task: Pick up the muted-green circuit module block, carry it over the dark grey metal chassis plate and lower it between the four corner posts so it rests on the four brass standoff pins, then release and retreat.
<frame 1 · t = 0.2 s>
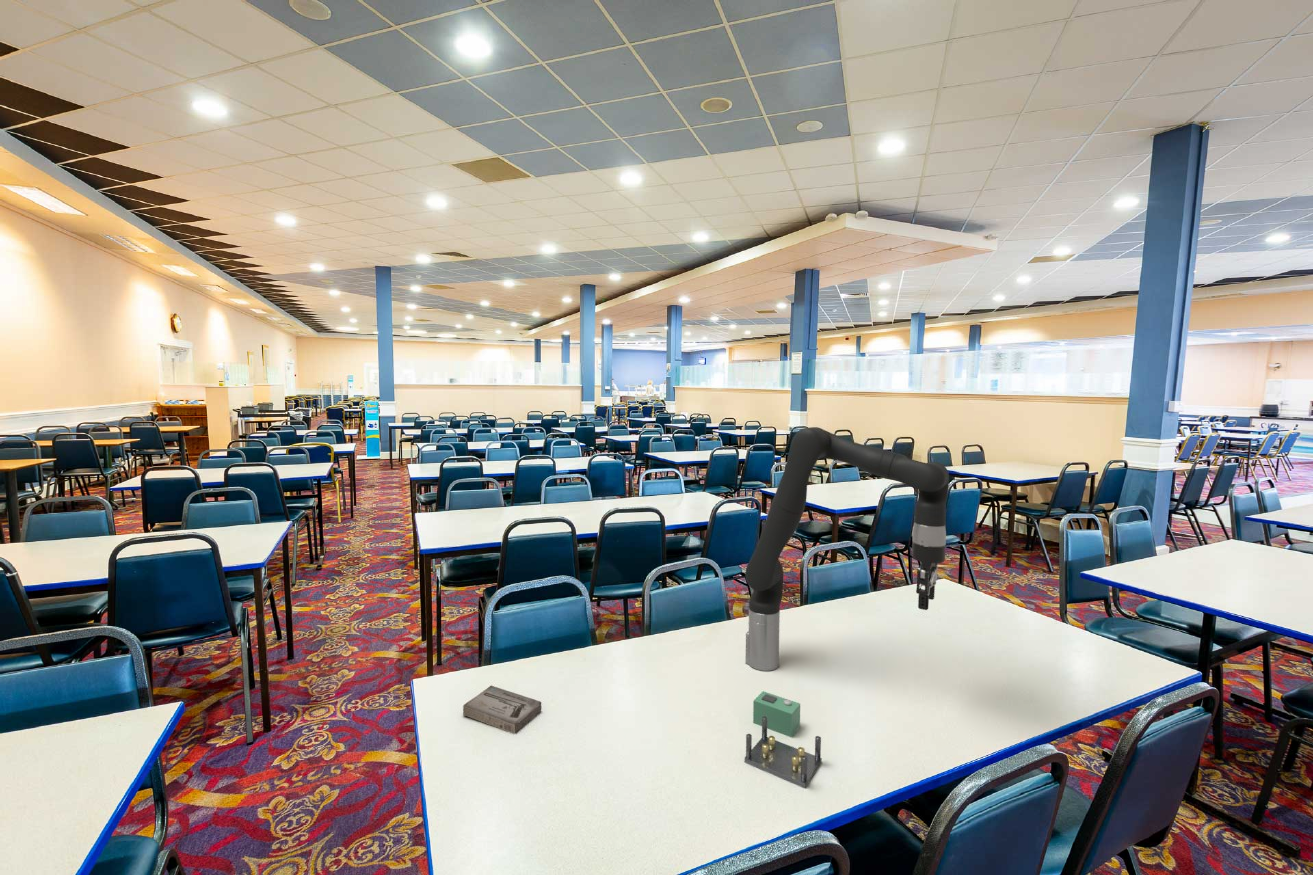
hand: (926, 603, 140), 29 cm above the table, fingers open, 8 cm apart
chassis: (783, 762, 123), on the table
box: (502, 716, 141), on the table
module block: (776, 725, 137), on the table
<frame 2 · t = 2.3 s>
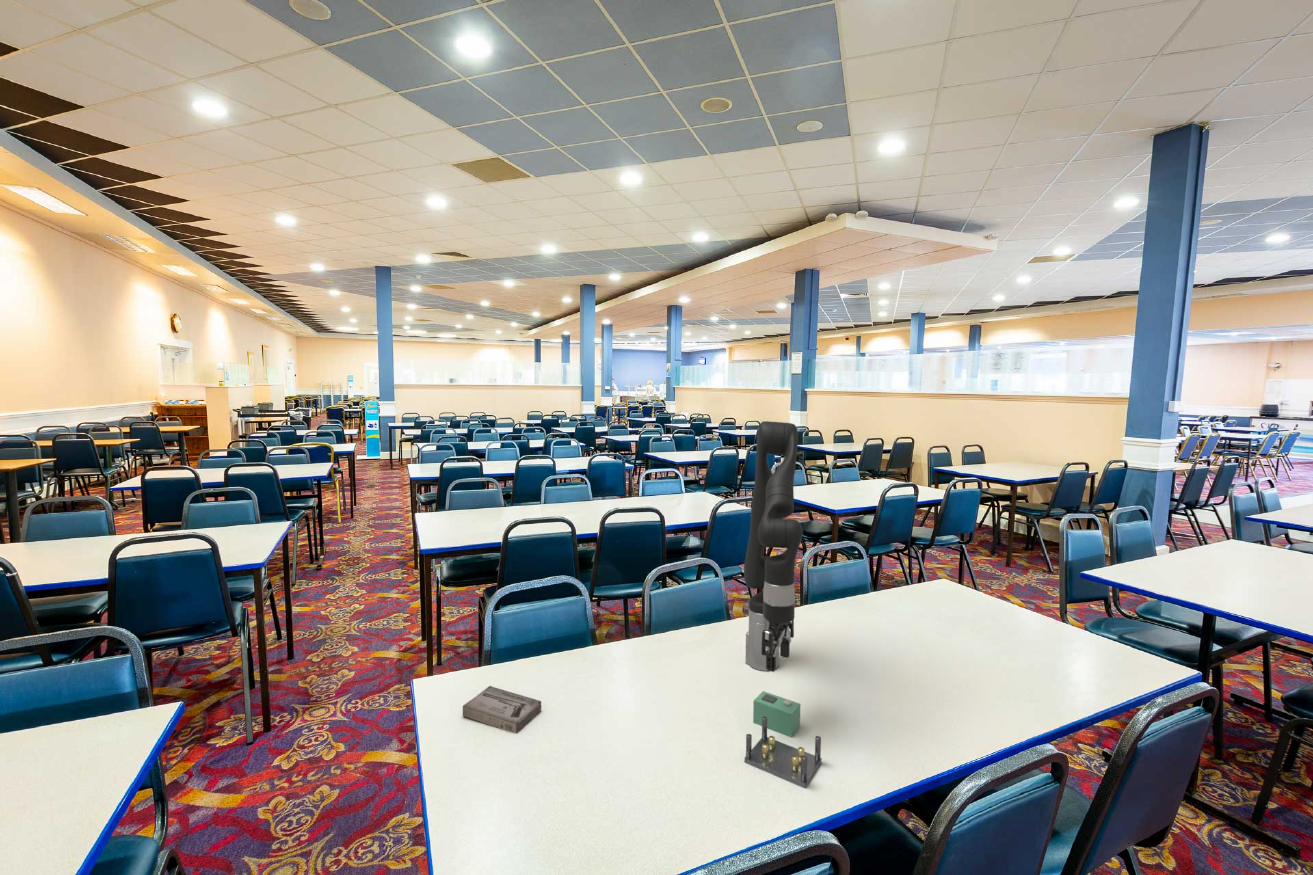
hand: (777, 663, 136), 16 cm above the table, fingers open, 8 cm apart
nothing on the table moved.
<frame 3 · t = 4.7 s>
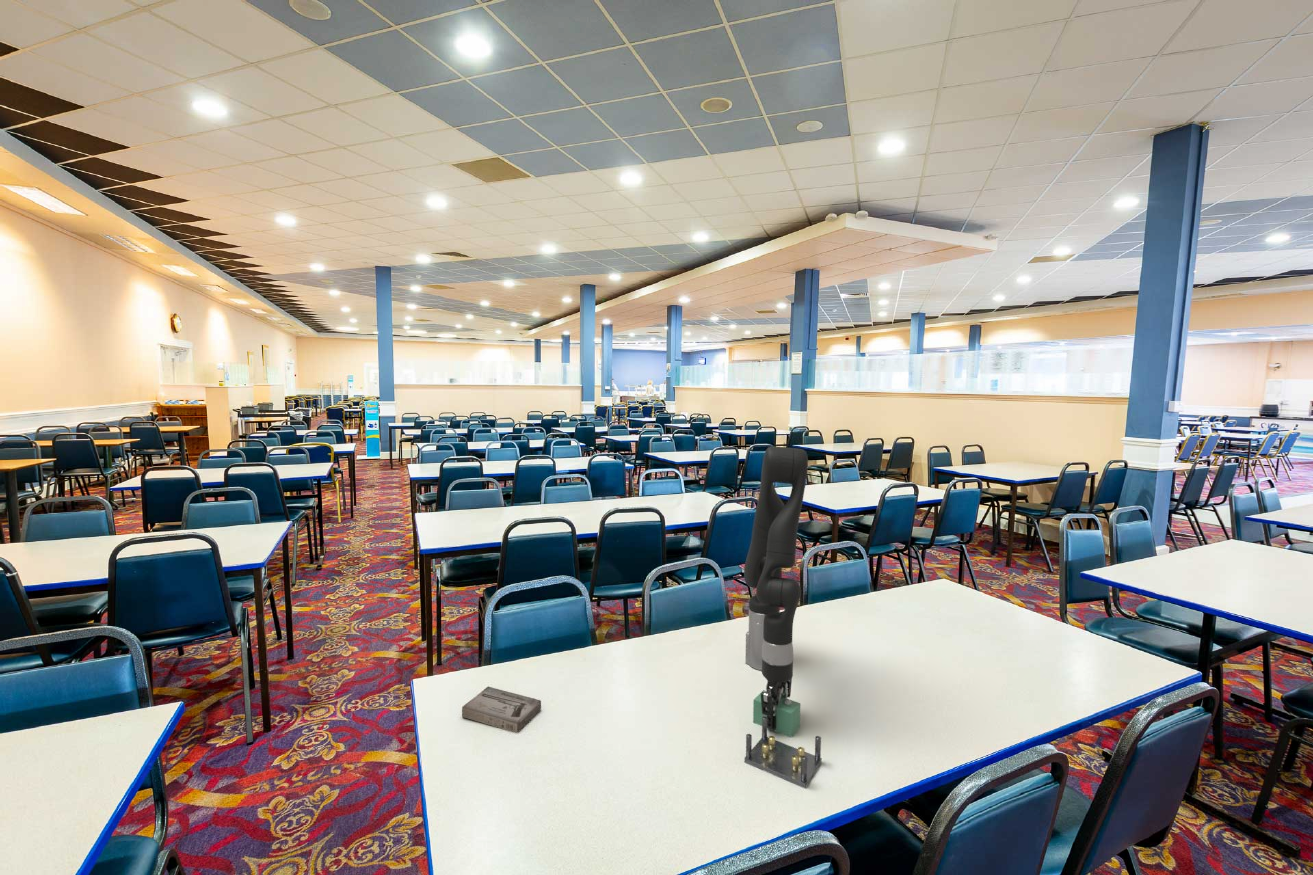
hand: (776, 722, 137), 1 cm above the table, fingers closed on module block, 5 cm apart
module block: (776, 724, 137), on the table, touching gripper
everything else where it was.
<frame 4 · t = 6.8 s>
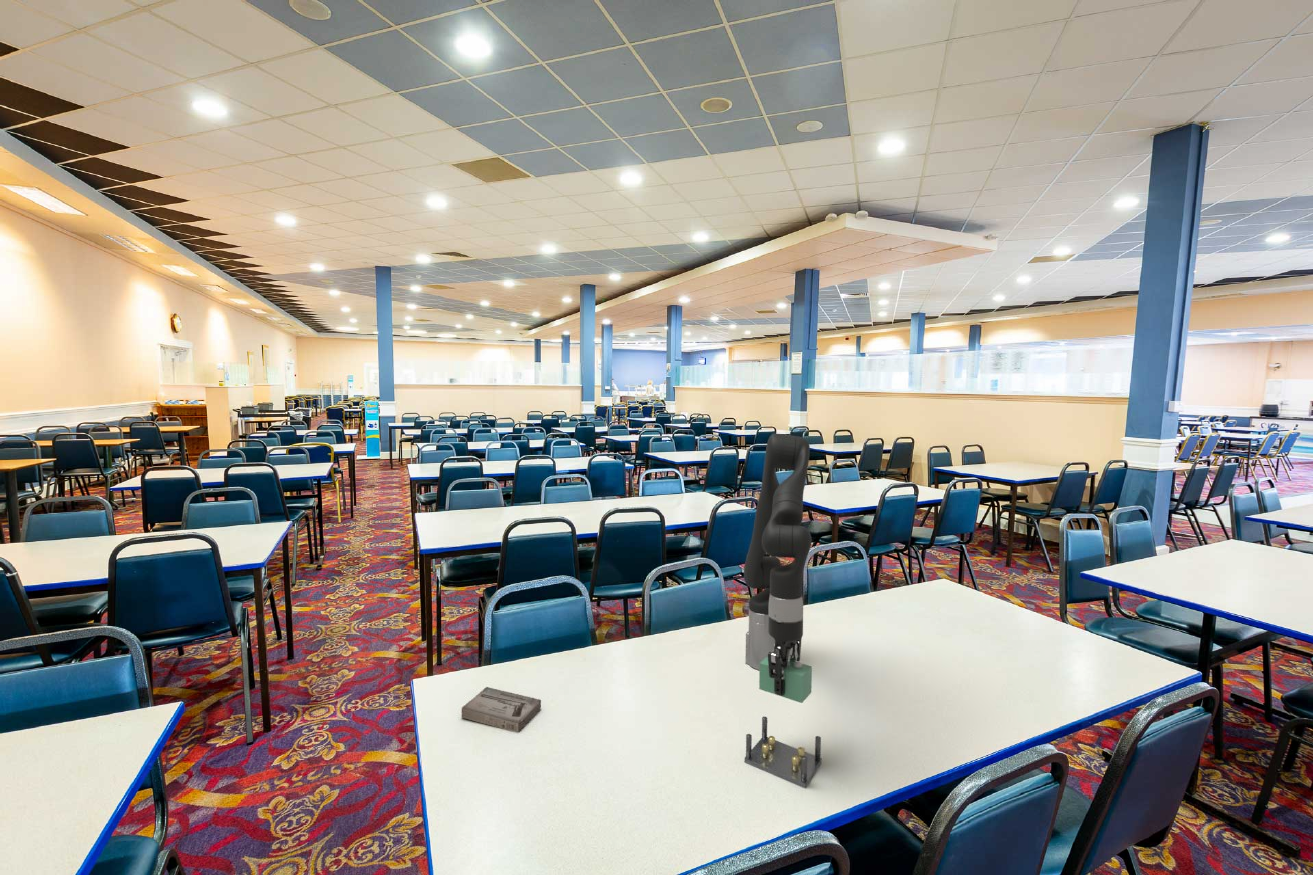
hand: (784, 688, 123), 16 cm above the table, fingers closed on module block, 5 cm apart
module block: (785, 690, 123), point 16 cm above the table, touching gripper
everything else where it was.
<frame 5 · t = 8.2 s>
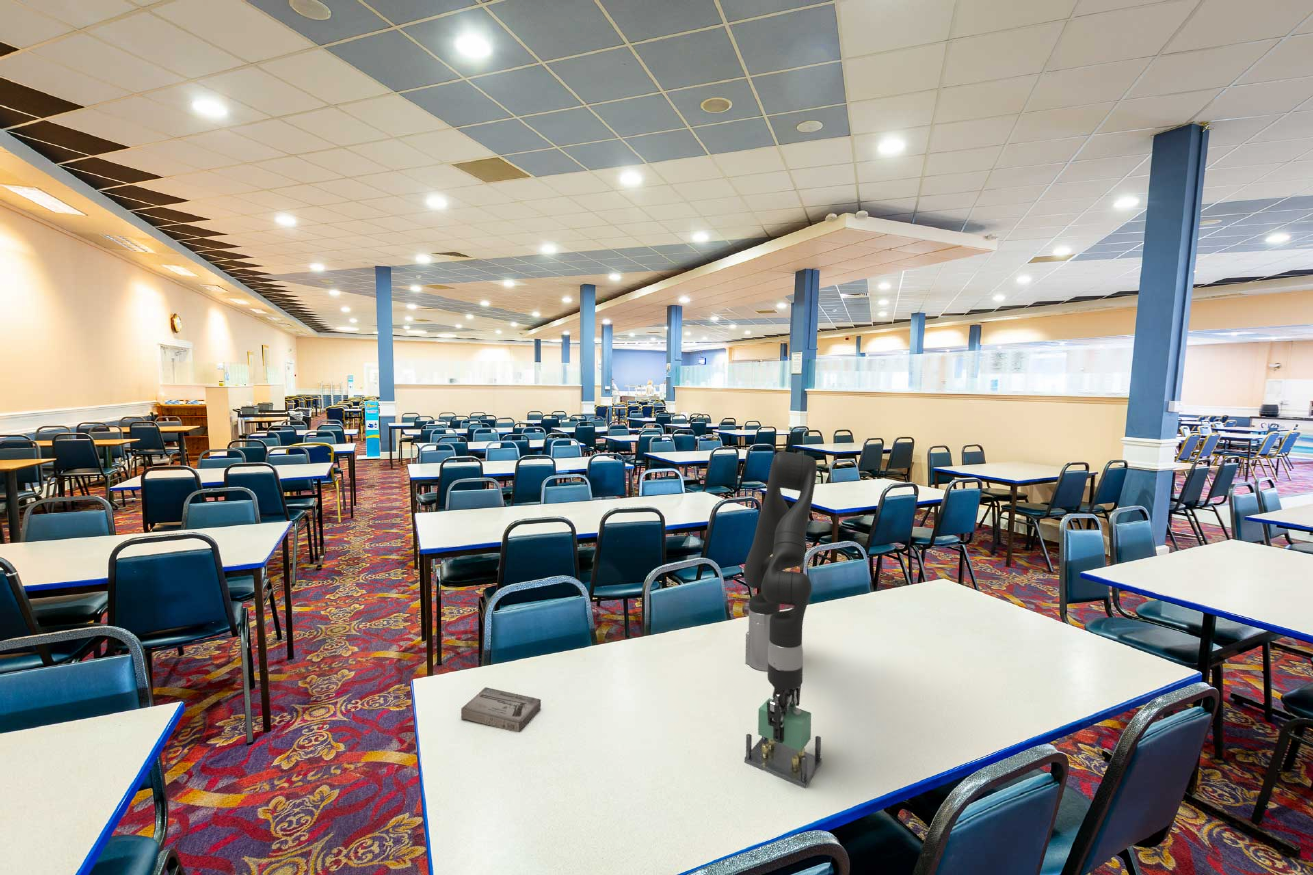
hand: (783, 733, 122), 7 cm above the table, fingers closed on module block, 5 cm apart
module block: (784, 736, 122), point 6 cm above the table, touching gripper
everything else where it was.
when the fingers open (5 cm above the table, at t = 9.4 s): module block stays where it is, resting on chassis.
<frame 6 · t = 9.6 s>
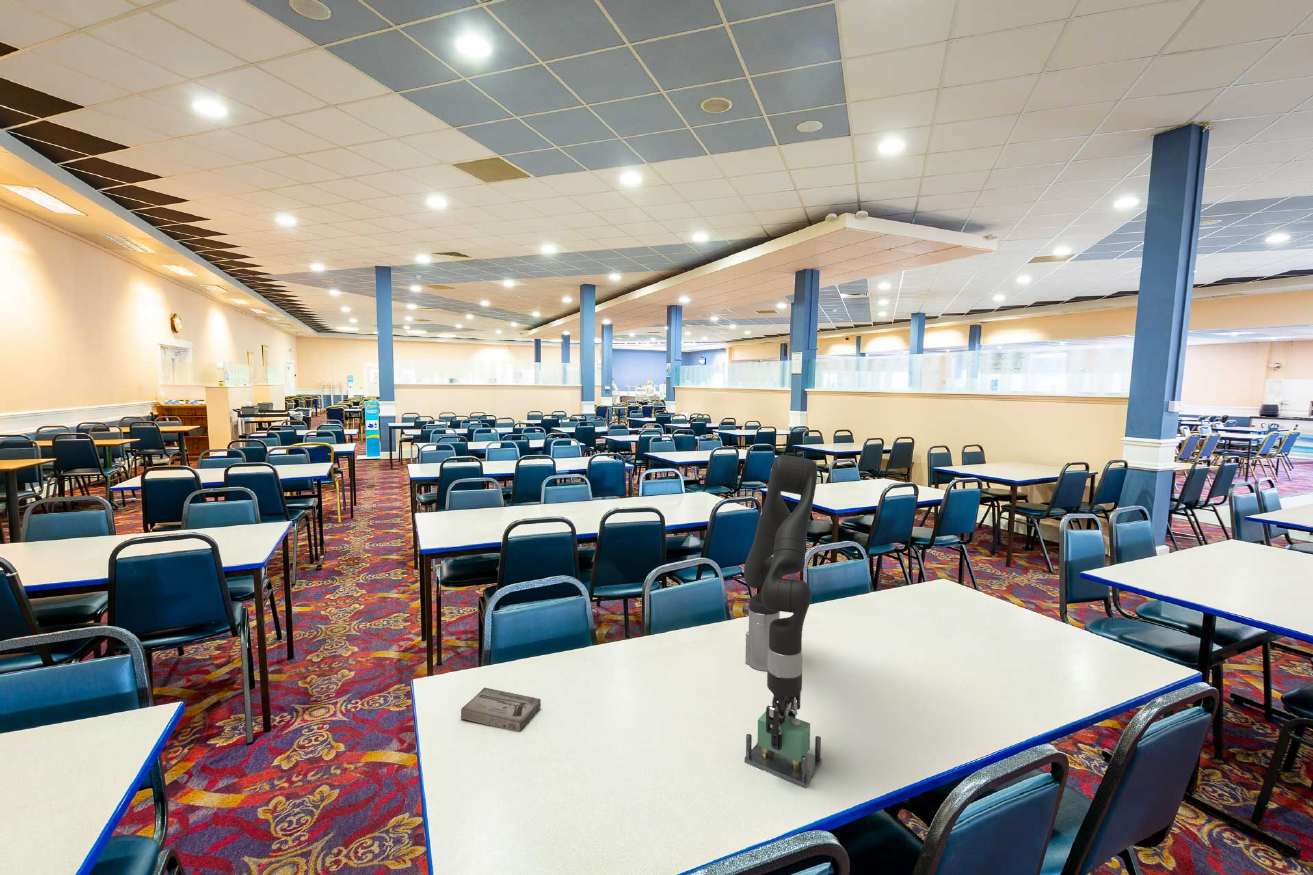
hand: (783, 739, 122), 5 cm above the table, fingers open, 7 cm apart
module block: (783, 747, 122), point 3 cm above the table, touching chassis
everything else where it was.
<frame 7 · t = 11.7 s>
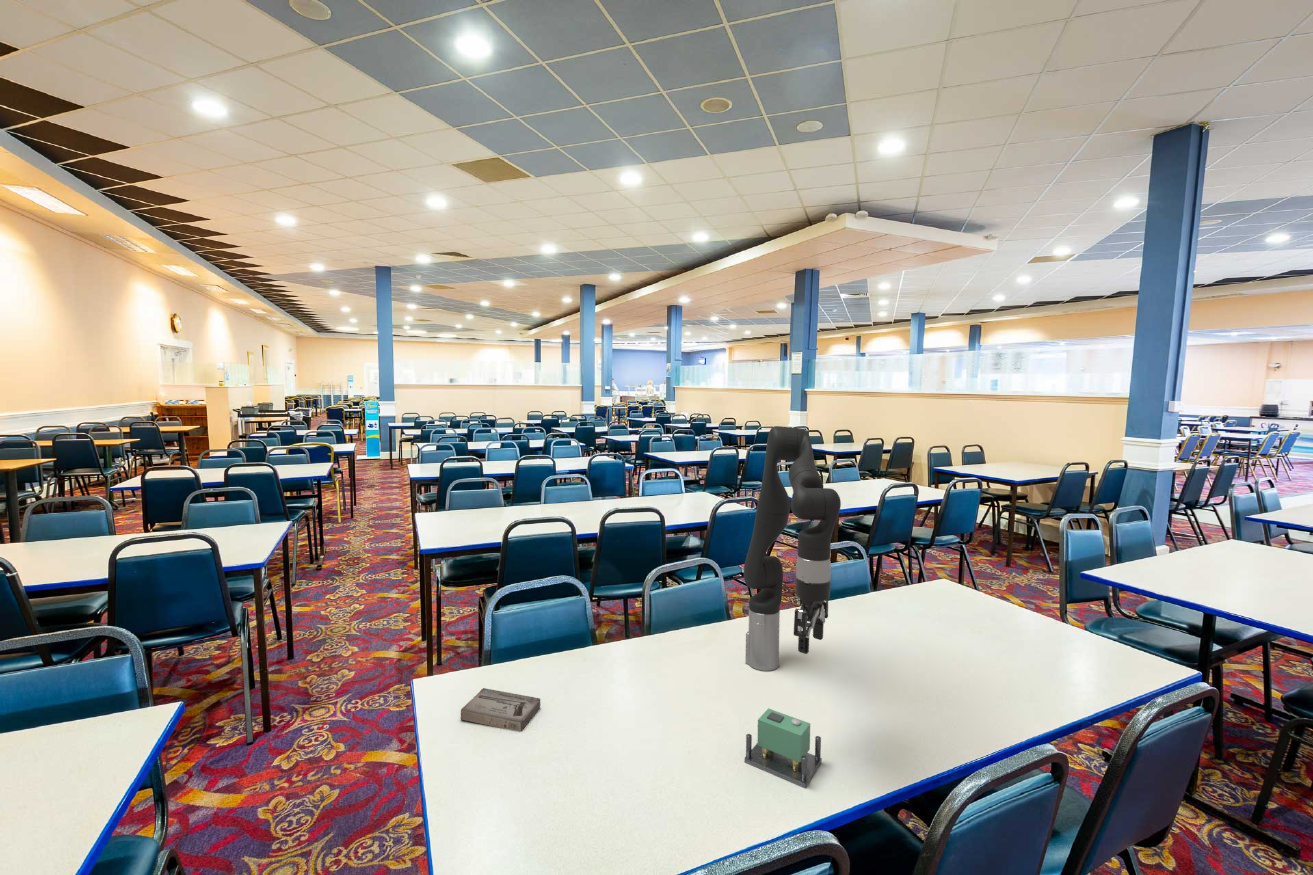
hand: (810, 645, 125), 25 cm above the table, fingers open, 8 cm apart
nothing on the table moved.
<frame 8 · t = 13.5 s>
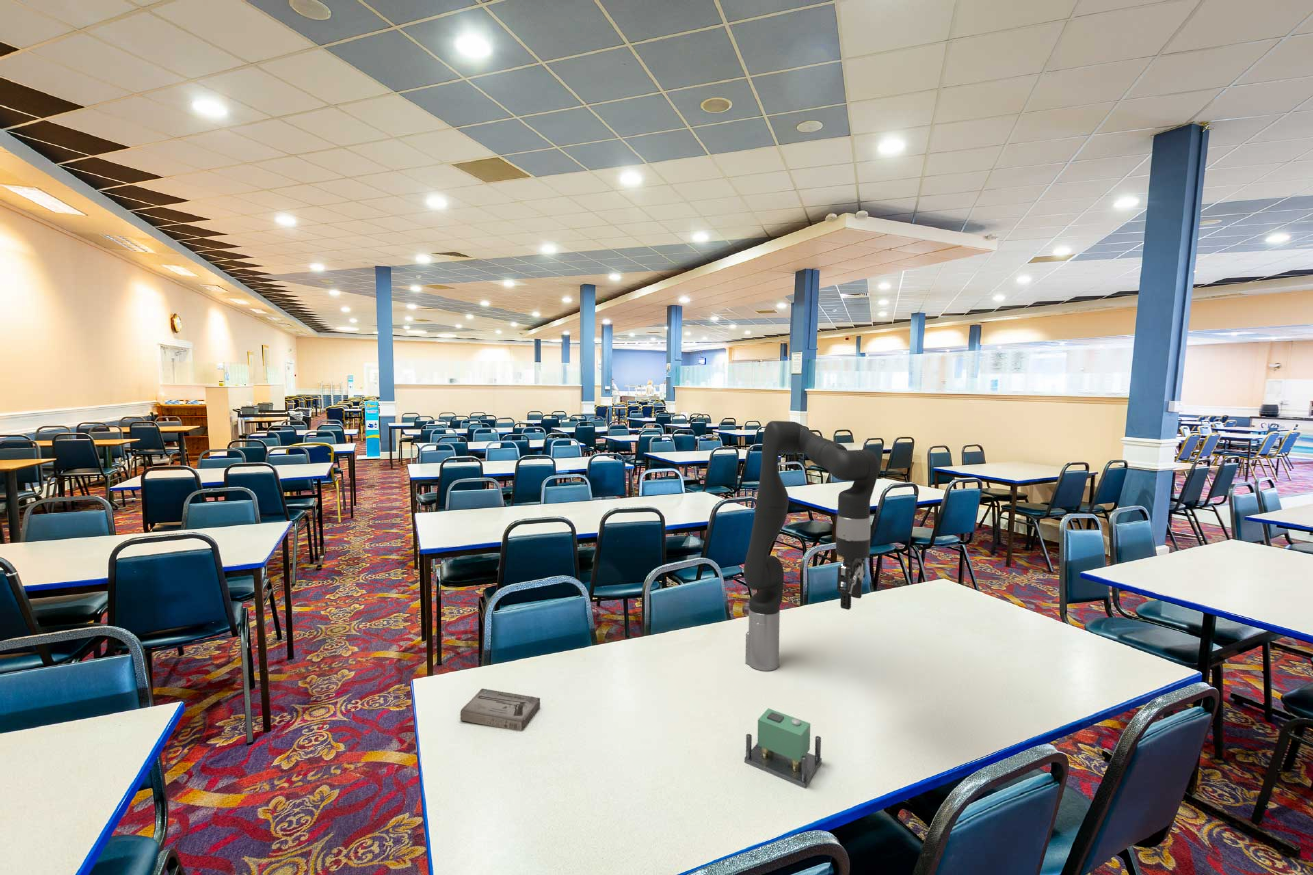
hand: (851, 602, 129), 33 cm above the table, fingers open, 8 cm apart
at the end: module block 0.0 cm off-centre on the chassis, point 3.5 cm above the chassis's base; module block tilted 0°; the gripper is holding nothing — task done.
